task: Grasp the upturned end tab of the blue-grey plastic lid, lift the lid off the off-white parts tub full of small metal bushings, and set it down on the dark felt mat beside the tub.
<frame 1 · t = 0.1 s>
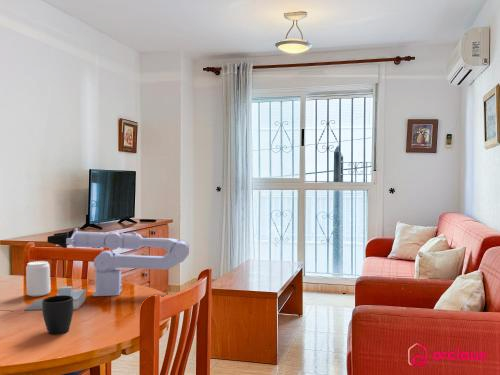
hand: (50, 237, 176), 22 cm above the table, tool horizontal, fingers open, 7 cm apart
tub: (69, 305, 165), on the table
mat: (42, 304, 166), on the table
mug: (58, 330, 139), on the table
lid: (69, 296, 164), point 3 cm above the table, touching tub
beverage can: (38, 295, 180), on the table
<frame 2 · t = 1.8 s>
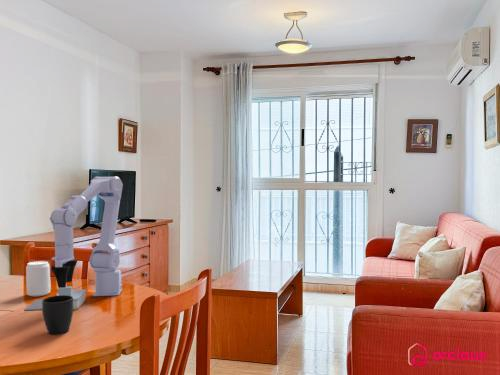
hand: (65, 284, 160), 8 cm above the table, tool pointing down, fingers open, 7 cm apart
nothing on the table moved.
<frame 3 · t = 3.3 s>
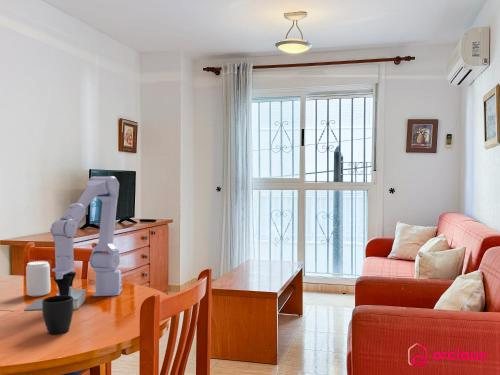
hand: (65, 295, 160), 4 cm above the table, tool pointing down, fingers closed on lid, 2 cm apart
lid: (69, 296, 164), point 3 cm above the table, touching gripper, tub
everything else where it was.
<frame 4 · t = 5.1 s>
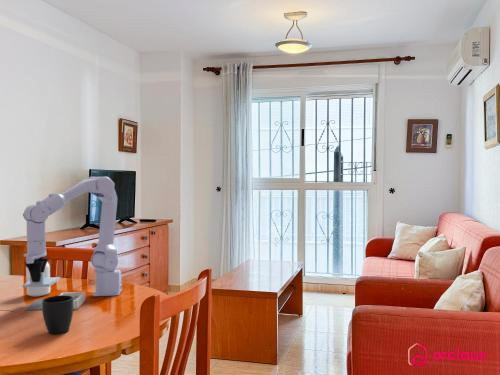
hand: (37, 280, 161), 9 cm above the table, tool pointing down, fingers closed on lid, 2 cm apart
lid: (41, 283, 165), point 8 cm above the table, touching gripper
everything else where it was.
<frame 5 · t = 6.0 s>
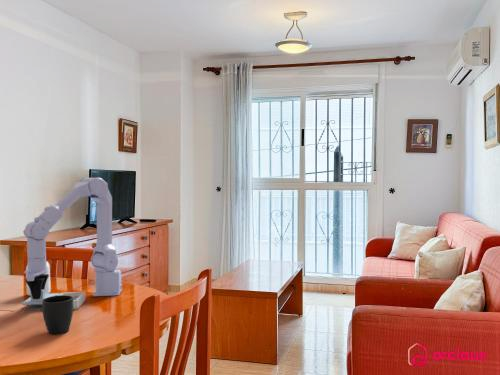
hand: (38, 297, 161), 4 cm above the table, tool pointing down, fingers closed on lid, 2 cm apart
lid: (42, 299, 165), point 2 cm above the table, touching gripper
everything else where it was.
when the fingers open (3 cm above the table, at t = 6.8 s): lid stays where it is, resting on mat.
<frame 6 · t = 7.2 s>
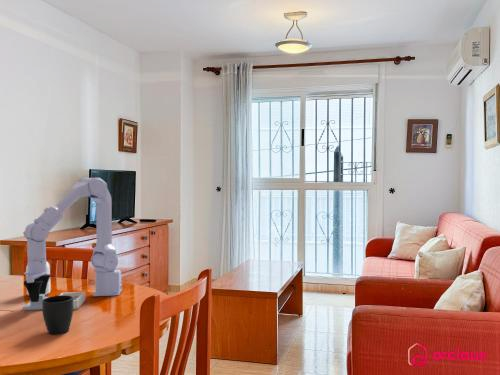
hand: (38, 299, 161), 3 cm above the table, tool pointing down, fingers open, 6 cm apart
lid: (42, 304, 165), resting on mat
everything else where it was.
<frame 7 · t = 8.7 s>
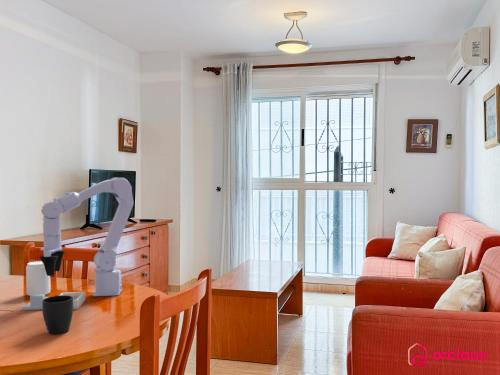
hand: (53, 273, 171), 10 cm above the table, tool pointing down, fingers open, 7 cm apart
nothing on the table moved.
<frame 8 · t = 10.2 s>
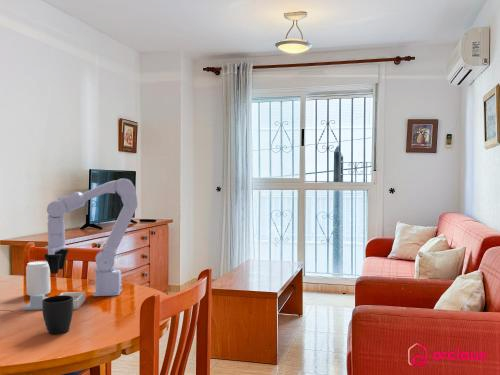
hand: (57, 271, 173), 10 cm above the table, tool pointing down, fingers open, 7 cm apart
nothing on the table moved.
at the end: lid inside the target area (0.4 cm from its centre), resting on mat; lid tilted 0°; the gripper is holding nothing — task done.
